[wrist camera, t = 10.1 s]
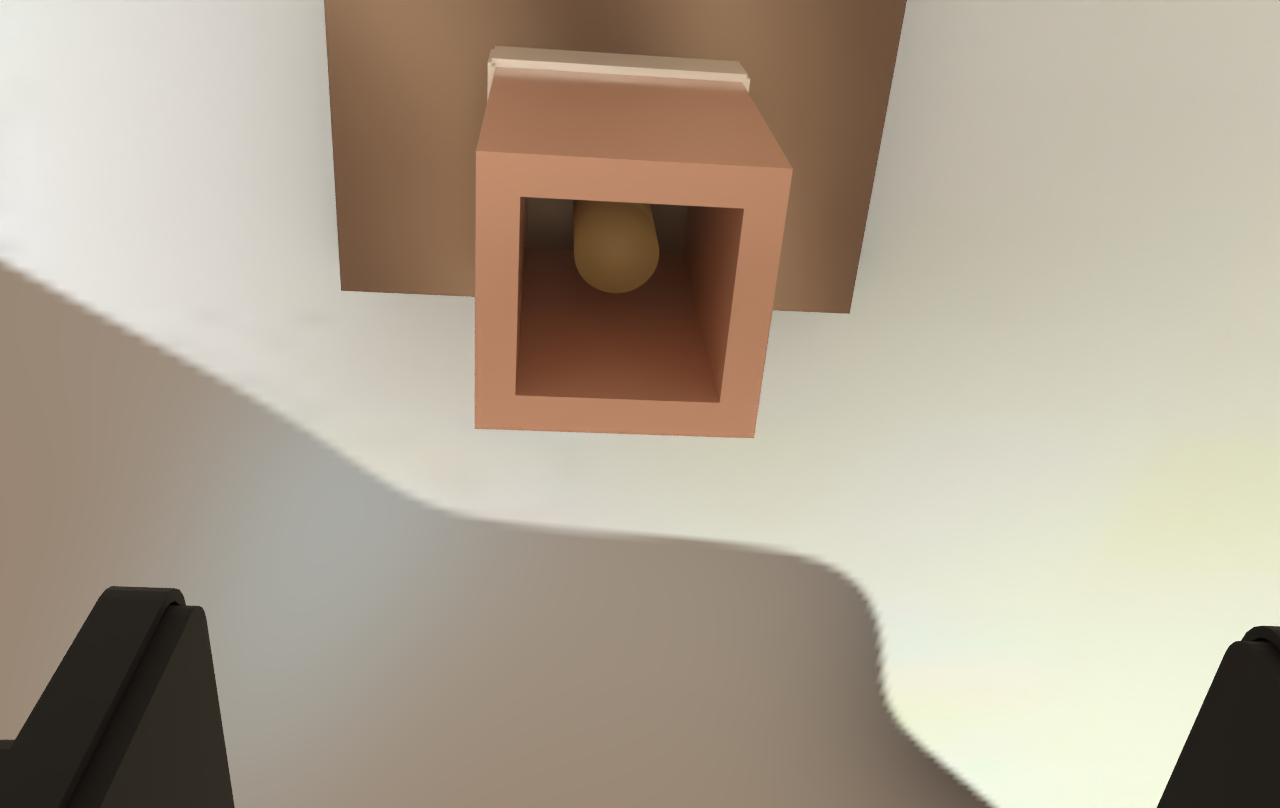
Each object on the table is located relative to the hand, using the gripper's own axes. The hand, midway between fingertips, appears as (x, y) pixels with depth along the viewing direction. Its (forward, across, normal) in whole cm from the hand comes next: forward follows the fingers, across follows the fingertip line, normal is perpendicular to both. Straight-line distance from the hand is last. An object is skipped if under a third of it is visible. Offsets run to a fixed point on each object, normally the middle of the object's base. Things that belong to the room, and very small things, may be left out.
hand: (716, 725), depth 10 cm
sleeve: (+17, +1, 0) cm, 17 cm away
